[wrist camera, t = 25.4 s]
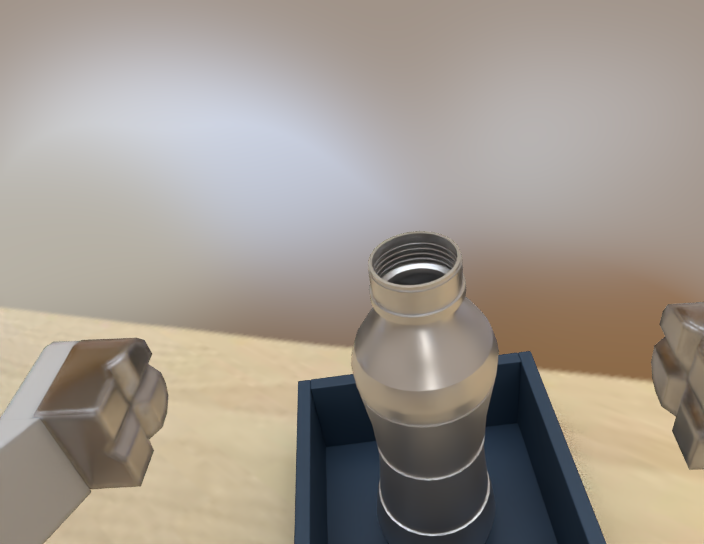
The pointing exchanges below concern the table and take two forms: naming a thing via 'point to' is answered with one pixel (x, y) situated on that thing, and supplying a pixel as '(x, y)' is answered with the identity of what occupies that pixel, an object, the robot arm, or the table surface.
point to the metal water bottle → (427, 392)
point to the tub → (500, 452)
